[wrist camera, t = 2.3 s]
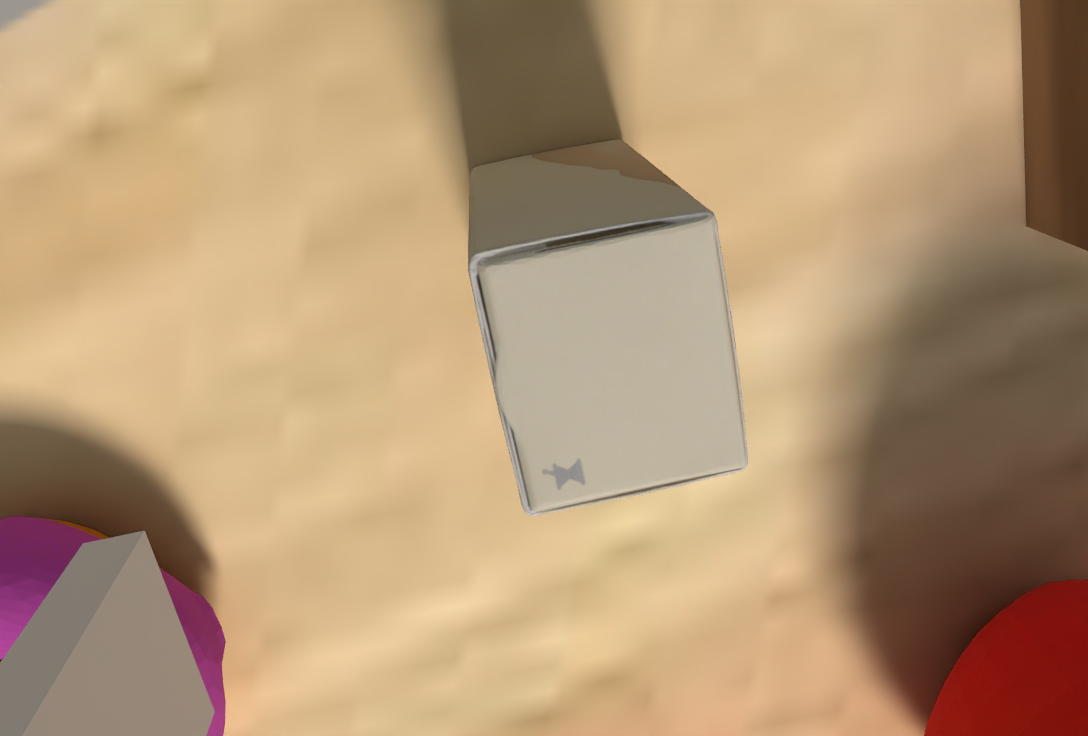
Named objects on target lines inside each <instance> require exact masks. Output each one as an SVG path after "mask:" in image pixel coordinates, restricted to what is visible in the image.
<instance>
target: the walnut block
mask: <svg viewBox="0 0 1088 736" xmlns="http://www.w3.org/2000/svg"><path fill="white" fill-rule="evenodd" d="M1020 7H1021V43H1022V79H1023V115H1024V151H1025V187H1026V223H1027V226H1028V227H1030V228H1033V229H1035V230H1038V231H1040V232H1042V233H1045V234H1047V235H1050V236H1052V237H1055V238H1057V239H1060V240H1062V241H1065V242H1067V243H1070V244H1072V245H1075V246H1077V247H1079V248H1082V249H1084V250H1087V251H1088V0H1020Z"/></svg>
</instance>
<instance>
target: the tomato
mask: <svg viewBox="0 0 1088 736" xmlns="http://www.w3.org/2000/svg"><path fill="white" fill-rule="evenodd" d="M924 736H1088V580H1067V581H1058V582H1050V583H1046V584H1044V585H1042V586H1040V587H1038V588H1035V589H1033V590H1031V591H1029V592H1027V593H1025V594H1023V595H1022V596H1020V597H1019V598H1018V599H1016V600H1015V601H1013V602H1012V603H1011V604H1009V605H1008V606H1007V607H1005V608H1004V609H1003V610H1001V611H1000V612H999V613H998V614H997V615H996V616H995V617H994V618H993V619H992V620H991V621H989V622H988V623H987V624H986V625H985V626H984V627H983V628H982V629H981V630H980V631H979V632H978V633H977V635H976V636H975V637H974V639H973V640H972V641H971V643H970V644H969V645H968V646H967V648H966V649H965V650H964V652H963V653H962V654H961V656H960V657H959V659H958V660H957V662H956V664H955V666H954V667H953V669H952V671H951V672H950V674H949V676H948V677H947V679H946V681H945V683H944V685H943V687H942V689H941V692H940V694H939V696H938V698H937V701H936V703H935V705H934V707H933V710H932V713H931V715H930V718H929V721H928V723H927V726H926V730H925V734H924Z"/></svg>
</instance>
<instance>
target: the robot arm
mask: <svg viewBox="0 0 1088 736" xmlns="http://www.w3.org/2000/svg"><path fill="white" fill-rule="evenodd" d="M214 712H215V711H214V708H213V706H212V703H211V700H210V698H209V695H208V693H207V690H206V688H205V685H204V682H203V680H202V677H201V675H200V672H199V669H198V667H197V664H196V662H195V659H194V657H193V654H192V651H191V649H190V646H189V644H188V641H187V638H186V636H185V633H184V631H183V628H182V626H181V623H180V620H179V618H178V615H177V613H176V610H175V607H174V605H173V602H172V600H171V597H170V595H169V592H168V589H167V587H166V584H165V582H164V579H163V577H162V574H161V571H160V569H159V566H158V564H157V561H156V558H155V556H154V553H153V551H152V548H151V546H150V543H149V540H148V538H147V535H146V533H145V531H140V532H135V533H130V534H126V535H121V536H116V537H111V538H106V539H102V540H97V541H92V542H87V543H83V544H82V546H81V547H80V548H79V550H78V551H77V553H76V554H75V556H74V557H73V558H72V560H71V561H70V563H69V564H68V566H67V567H66V569H65V570H64V571H63V573H62V574H61V576H60V577H59V579H58V580H57V582H56V583H55V584H54V586H53V587H52V589H51V590H50V592H49V593H48V595H47V596H46V597H45V599H44V600H43V602H42V603H41V605H40V606H39V608H38V609H37V610H36V612H35V613H34V615H33V616H32V618H31V619H30V621H29V622H28V623H27V625H26V626H25V628H24V629H23V631H22V632H21V633H20V635H19V636H18V638H17V639H16V641H15V642H14V644H13V645H12V646H11V648H10V649H9V651H8V652H7V654H6V655H5V657H4V658H3V659H2V661H1V662H0V736H206V735H207V732H208V730H209V727H210V724H211V721H212V718H213V715H214Z"/></svg>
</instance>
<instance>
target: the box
mask: <svg viewBox="0 0 1088 736" xmlns="http://www.w3.org/2000/svg"><path fill="white" fill-rule="evenodd" d="M468 271H469V276H470V281H471V286H472V291H473V296H474V301H475V305H476V310H477V315H478V320H479V325H480V330H481V334H482V339H483V343H484V347H485V352H486V356H487V361H488V365H489V370H490V374H491V378H492V383H493V387H494V392H495V396H496V401H497V405H498V410H499V414H500V418H501V422H502V426H503V430H504V434H505V438H506V442H507V446H508V450H509V454H510V458H511V462H512V466H513V470H514V473H515V477H516V481H517V486H518V490H519V495H520V499H521V504H522V506H523V509H524V511H525V512H526V513H527V515H529V516H537V515H541V514H545V513H551V512H556V511H561V510H566V509H571V508H576V507H582V506H587V505H592V504H597V503H603V502H607V501H612V500H616V499H621V498H626V497H631V496H635V495H640V494H645V493H651V492H655V491H658V490H661V489H666V488H672V487H676V486H681V485H685V484H689V483H693V482H697V481H701V480H705V479H709V478H714V477H718V476H722V475H728V474H732V473H736V472H740V471H742V470H744V469H745V468H746V467H747V465H748V453H747V443H746V432H745V422H744V411H743V402H742V393H741V386H740V377H739V368H738V361H737V354H736V345H735V338H734V331H733V323H732V316H731V311H730V306H729V299H728V290H727V284H726V277H725V271H724V265H723V259H722V253H721V247H720V241H719V236H718V227H717V220H716V218H715V215H714V213H713V212H712V211H710V210H709V209H707V208H706V207H705V206H704V205H702V204H701V203H700V202H698V201H697V200H696V199H694V198H693V197H692V196H691V195H690V194H689V193H687V192H686V191H685V190H684V189H682V188H681V187H680V186H679V185H677V184H676V183H675V182H674V181H673V180H671V179H670V178H669V177H668V176H666V175H665V174H664V173H662V171H660V170H659V169H658V168H656V167H655V166H654V165H653V164H651V163H650V162H649V161H648V160H647V159H645V158H644V157H643V156H641V155H640V154H639V153H637V152H636V151H635V150H634V149H633V148H631V147H630V146H629V145H628V144H626V143H625V142H624V141H622V140H620V139H617V140H610V141H604V142H598V143H592V144H585V145H579V146H573V147H568V148H562V149H557V150H551V151H546V152H541V153H536V154H531V155H526V156H521V157H516V158H511V159H507V160H502V161H498V162H493V163H489V164H484V165H480V166H476V167H474V168H473V169H472V171H471V174H470V196H469V236H468Z"/></svg>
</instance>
